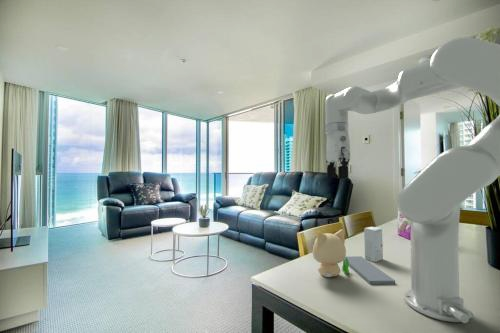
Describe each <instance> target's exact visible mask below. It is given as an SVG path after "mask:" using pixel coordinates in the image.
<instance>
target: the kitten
mask: <svg viewBox="0 0 500 333" xmlns="http://www.w3.org/2000/svg"><path fill="white" fill-rule="evenodd" d="M345 234H346V233H345V229H344V228H341V229H339V230H338V231H337V232H334V233H327V232H326V233H323V232H322V231H319V230H318V232H317V237H316V238H315V240H314V241H313V244H312V245H313V246H312V256H313V259H314V260H315V261H316V262H318V263H320V265H319V266H318V269H317V270H318V274H320V275H322V276H323V277H326V278H331V277H337V276H339V275H340V274H341V269H342V271H343V272H344V274H345V275H349V273H350V271H349V267H350V266H349V261H348V259H347V258H346V260H345V262H344V261H343V260H344V258H345V257H347V256H346V255H347V250H346V245H345V244H346V240H345ZM340 263H342V268H341V269H340V266H339V264H340Z"/></svg>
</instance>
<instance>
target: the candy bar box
mask: <svg viewBox="0 0 500 333" xmlns="http://www.w3.org/2000/svg"><path fill="white" fill-rule="evenodd" d="M396 207H397V208H396V210H397V217H396V218H397V235H398V236H400V237H403V238H404V237H405V238H404V239H407V240H409V241H411V223H412V221H409V220H408V219H406V218H405V217H404V216H403V215H402V214H401V213H400V211H399V209H398V206H397V205H396Z"/></svg>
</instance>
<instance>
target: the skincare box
mask: <svg viewBox="0 0 500 333" xmlns="http://www.w3.org/2000/svg"><path fill="white" fill-rule="evenodd" d="M363 229H364V230H363V231H364V234H363V236H364V239H363V240H364V259H366V260H367V261H369V262H375V263H376V262H379V261H382V260H383V259H384V248H383V245H384V244H383V243H384V242H383V227H382V228H381V227H376V226H369V227H368V226H367V227H364V228H363Z"/></svg>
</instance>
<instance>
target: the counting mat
mask: <svg viewBox="0 0 500 333" xmlns="http://www.w3.org/2000/svg"><path fill="white" fill-rule="evenodd" d="M346 258H347V259H348V261H349V266H348V267H349V268H350V269H352V270H353V271H354V272H355V273H356V274H357V275H358V276H360V277H361V278H362V279H363V280H364V281H365V282H366V283H367V284H369V285H396V280H395V279H394V278H392V277H391V276H389V275H388V274H387V273H385V272H384V271H382V270H381V269H380V268H378V267H377V266H375V265H374V264H372V263H371V261H369V260H367V259H365V257H363V256H360V255H358V256H345V258H344V260H343V261H344V262H345V260H346ZM343 261H342V262H343Z"/></svg>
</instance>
